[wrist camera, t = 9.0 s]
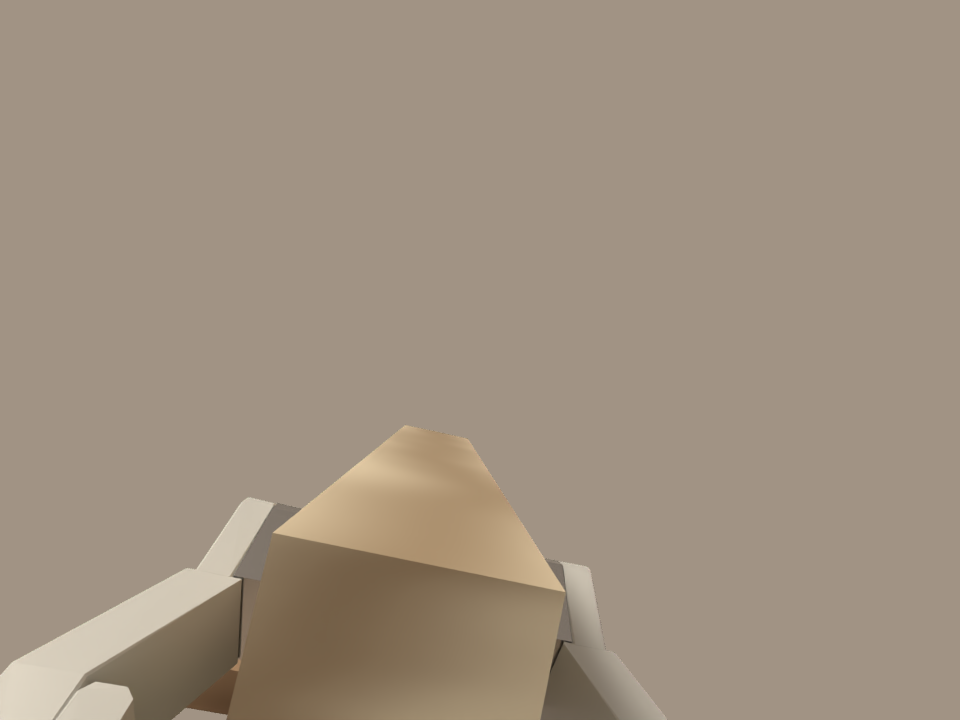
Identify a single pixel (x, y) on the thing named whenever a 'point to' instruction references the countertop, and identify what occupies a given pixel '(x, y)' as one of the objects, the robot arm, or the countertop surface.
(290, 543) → the beech bar
